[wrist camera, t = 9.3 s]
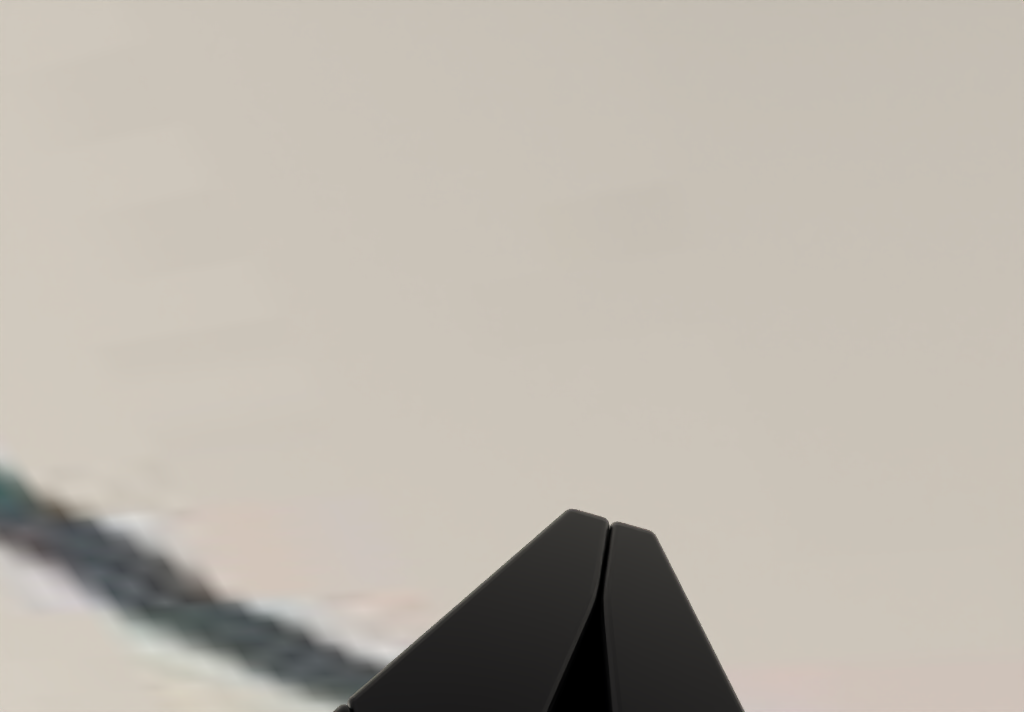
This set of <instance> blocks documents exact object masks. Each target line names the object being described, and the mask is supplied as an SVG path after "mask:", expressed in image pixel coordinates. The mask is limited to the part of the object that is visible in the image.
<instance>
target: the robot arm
mask: <svg viewBox="0 0 1024 712" xmlns="http://www.w3.org/2000/svg"><path fill="white" fill-rule="evenodd" d="M333 712H745V711H744V709H743V707H742V705H741V703H740V701H739V699H738V698H737V696H736V694H735V692H734V690H733V688H732V686H731V684H730V682H729V680H728V678H727V676H726V674H725V672H724V670H723V668H722V666H721V664H720V662H719V660H718V658H717V656H716V654H715V652H714V650H713V648H712V646H711V644H710V642H709V640H708V638H707V636H706V634H705V632H704V630H703V628H702V626H701V624H700V622H699V620H698V618H697V616H696V614H695V612H694V610H693V608H692V606H691V604H690V602H689V600H688V598H687V596H686V594H685V592H684V590H683V588H682V586H681V584H680V582H679V580H678V578H677V576H676V574H675V572H674V571H673V569H672V567H671V565H670V563H669V561H668V559H667V557H666V555H665V553H664V551H663V549H662V547H661V545H660V543H659V541H658V539H657V537H656V535H655V534H654V533H653V532H652V531H650V530H647V529H643V528H640V527H636V526H632V525H629V524H625V523H622V522H614V523H612V524H611V526H610V528H609V522H608V520H607V519H606V518H604V517H601V516H597V515H594V514H590V513H587V512H583V511H580V510H576V509H569V510H567V511H565V512H564V513H563V514H562V515H560V516H559V517H558V518H557V519H556V520H555V521H553V522H552V523H551V524H550V525H549V526H548V527H547V528H545V529H544V530H543V531H542V532H541V533H540V534H538V535H537V536H536V537H535V538H534V539H533V540H532V541H530V542H529V543H528V544H527V545H526V546H525V547H523V548H522V549H521V550H520V551H519V552H518V553H516V554H515V555H514V556H513V557H512V558H511V559H510V560H508V561H507V562H506V563H505V564H504V565H503V566H501V567H500V568H499V569H498V570H497V571H496V572H495V573H493V574H492V575H491V576H490V577H489V578H488V579H486V580H485V581H484V582H483V583H482V584H481V585H480V586H478V587H477V588H476V589H475V590H474V591H473V592H471V593H470V594H469V595H468V596H467V597H466V598H465V599H463V600H462V601H461V602H460V603H459V604H458V605H456V606H455V607H454V608H453V609H452V610H451V611H449V612H448V613H447V614H446V615H445V616H444V617H443V618H441V619H440V620H439V621H438V622H437V623H436V624H434V625H433V626H432V627H431V628H430V629H429V630H428V631H426V632H425V633H424V634H423V635H422V636H421V637H419V638H418V639H417V640H416V641H415V642H414V643H413V644H411V645H410V646H409V647H408V648H407V649H406V650H404V651H403V652H402V653H401V654H400V655H399V656H398V657H396V658H395V659H394V660H393V661H392V662H391V663H389V664H388V665H387V666H386V667H385V668H384V669H382V670H381V671H380V672H379V673H378V674H377V675H376V676H374V677H373V678H372V679H371V680H370V681H369V682H367V683H366V684H365V685H364V686H363V687H362V688H361V689H359V690H358V691H357V692H356V693H355V694H354V695H352V696H351V697H350V698H349V700H348V703H347V705H345V704H344V705H340V706H339V707H338V708H337V709H336V710H334V711H333Z"/></svg>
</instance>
